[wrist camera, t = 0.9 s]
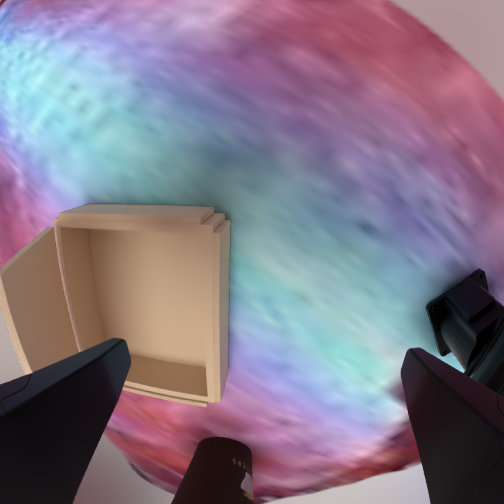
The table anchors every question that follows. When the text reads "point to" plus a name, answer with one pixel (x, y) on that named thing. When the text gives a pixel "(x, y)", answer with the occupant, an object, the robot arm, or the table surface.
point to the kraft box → (152, 292)
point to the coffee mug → (218, 474)
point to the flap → (36, 305)
